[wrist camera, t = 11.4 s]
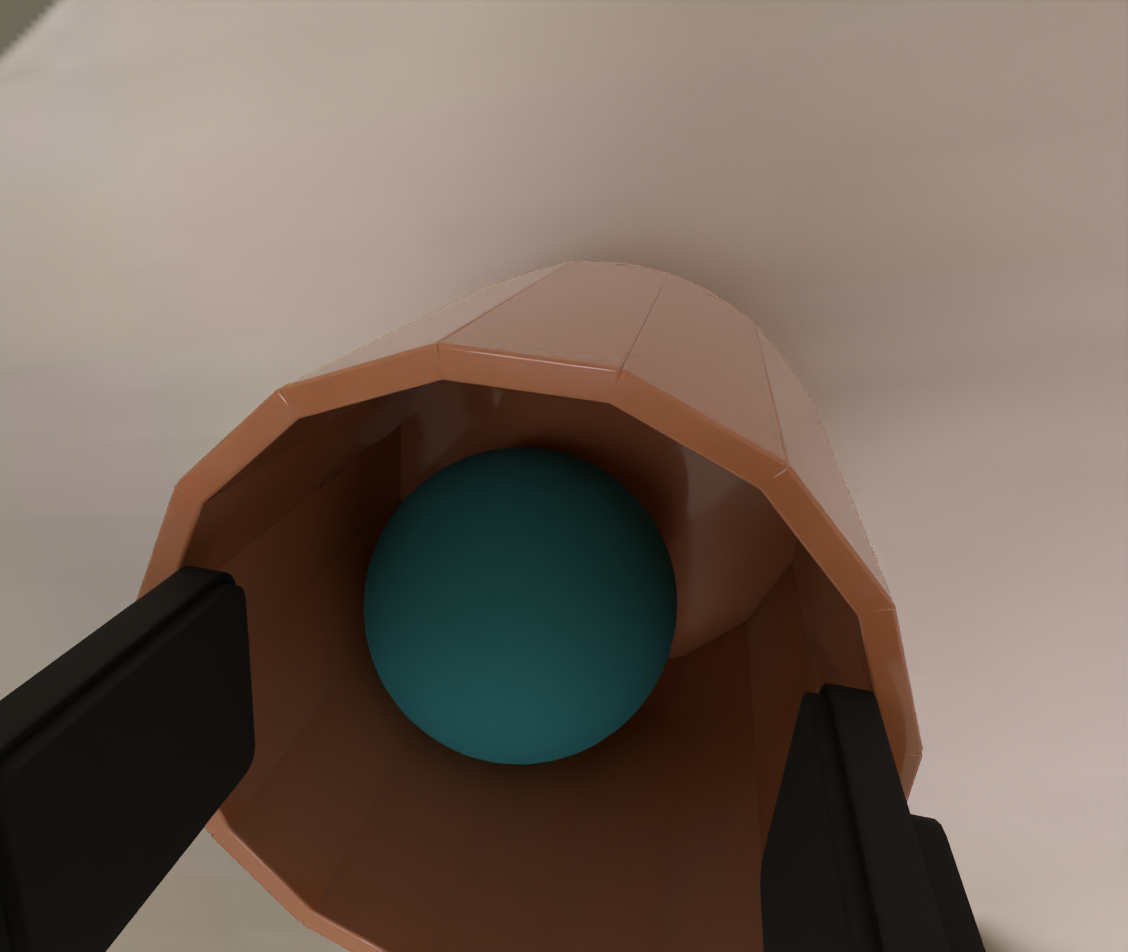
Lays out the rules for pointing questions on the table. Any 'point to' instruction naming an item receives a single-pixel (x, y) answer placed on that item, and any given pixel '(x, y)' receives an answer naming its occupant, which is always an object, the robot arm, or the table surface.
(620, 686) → the ball
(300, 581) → the terracotta pot
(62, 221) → the table surface
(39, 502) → the table surface
